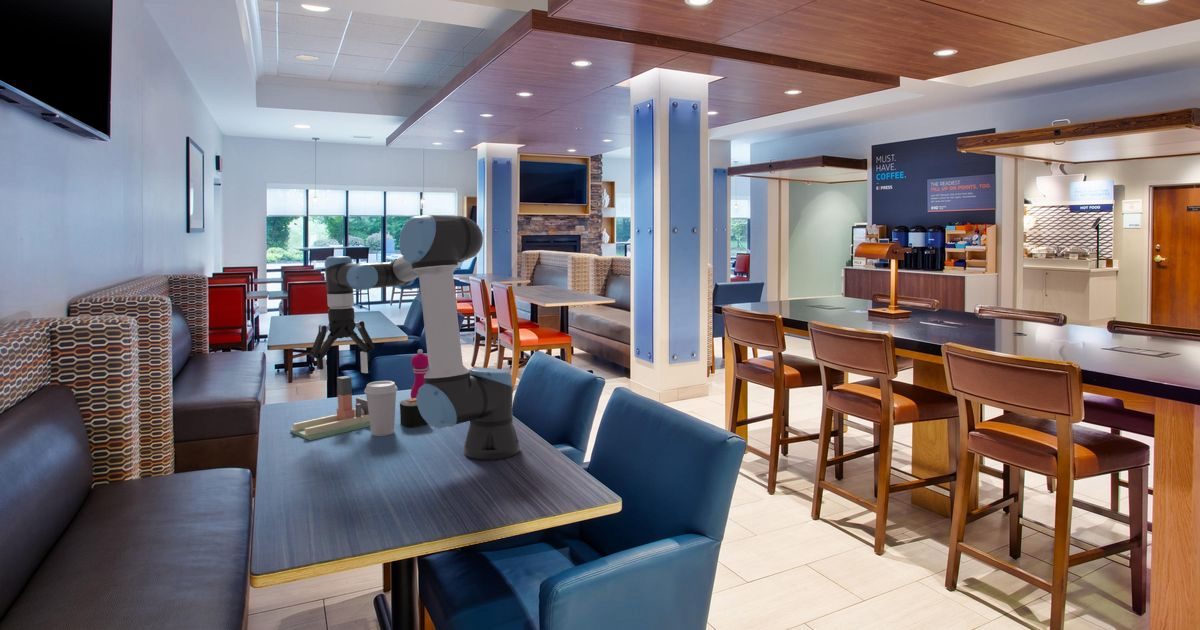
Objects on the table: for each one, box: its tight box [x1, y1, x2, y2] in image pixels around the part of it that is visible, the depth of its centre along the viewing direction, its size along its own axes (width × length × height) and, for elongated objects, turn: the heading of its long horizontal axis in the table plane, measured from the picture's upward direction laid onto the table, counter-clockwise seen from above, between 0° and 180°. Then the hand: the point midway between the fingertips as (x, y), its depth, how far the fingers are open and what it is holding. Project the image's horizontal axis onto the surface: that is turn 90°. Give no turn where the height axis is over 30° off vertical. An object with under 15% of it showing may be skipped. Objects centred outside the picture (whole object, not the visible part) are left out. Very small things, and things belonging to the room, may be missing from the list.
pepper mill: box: [410, 348, 429, 399], centre depth 243 cm, size 7×7×20 cm
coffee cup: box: [363, 380, 399, 437], centre depth 213 cm, size 10×10×15 cm
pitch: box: [289, 397, 370, 441], centre depth 218 cm, size 12×22×7 cm, turn 139°
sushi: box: [398, 397, 429, 429], centre depth 223 cm, size 8×8×8 cm
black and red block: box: [336, 375, 354, 421], centre depth 220 cm, size 5×3×14 cm, turn 49°
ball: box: [353, 407, 364, 417], centre depth 224 cm, size 4×4×4 cm
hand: (344, 376), depth 219 cm, fingers open, 13 cm apart
